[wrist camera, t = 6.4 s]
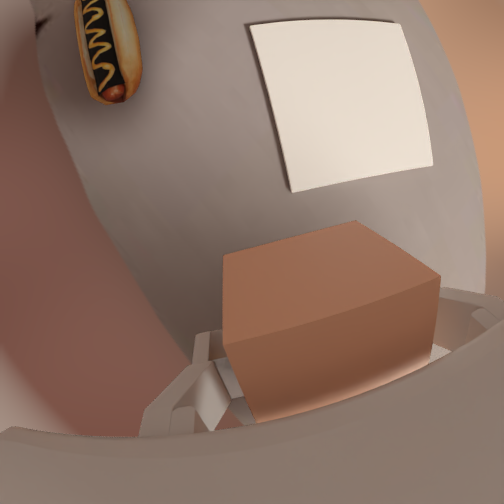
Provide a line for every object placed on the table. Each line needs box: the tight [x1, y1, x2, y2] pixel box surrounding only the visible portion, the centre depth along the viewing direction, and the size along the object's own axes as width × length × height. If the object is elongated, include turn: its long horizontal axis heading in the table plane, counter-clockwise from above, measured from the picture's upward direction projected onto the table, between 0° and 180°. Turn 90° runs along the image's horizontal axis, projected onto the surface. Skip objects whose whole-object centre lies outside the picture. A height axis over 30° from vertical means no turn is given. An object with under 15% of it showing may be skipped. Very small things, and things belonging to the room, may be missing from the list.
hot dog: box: [74, 0, 142, 105], centre depth 17 cm, size 5×13×5 cm, turn 16°
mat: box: [249, 20, 433, 193], centre depth 22 cm, size 16×16×1 cm
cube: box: [223, 220, 441, 423], centre depth 9 cm, size 5×5×5 cm
